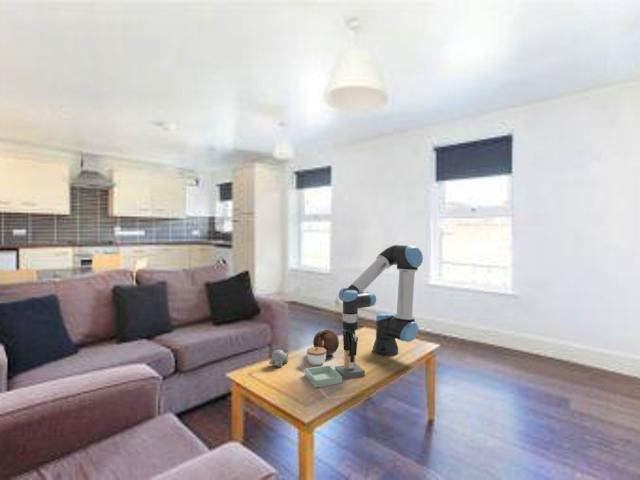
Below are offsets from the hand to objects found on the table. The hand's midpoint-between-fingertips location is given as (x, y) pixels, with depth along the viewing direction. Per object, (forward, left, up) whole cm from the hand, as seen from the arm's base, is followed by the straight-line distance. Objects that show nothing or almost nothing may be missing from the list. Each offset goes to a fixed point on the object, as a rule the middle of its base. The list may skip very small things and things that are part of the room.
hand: (349, 366), depth 184 cm
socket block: (0, 0, -4) cm, 4 cm away
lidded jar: (+11, -19, -4) cm, 22 cm away
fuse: (0, 0, -4) cm, 4 cm away
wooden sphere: (+1, -30, -4) cm, 30 cm away
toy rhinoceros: (+30, -24, -4) cm, 39 cm away
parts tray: (+15, +1, -4) cm, 16 cm away
